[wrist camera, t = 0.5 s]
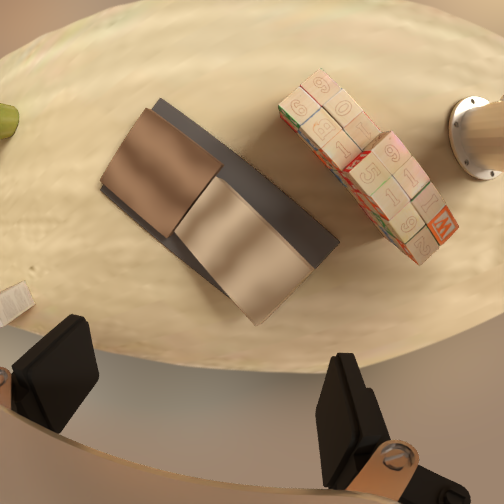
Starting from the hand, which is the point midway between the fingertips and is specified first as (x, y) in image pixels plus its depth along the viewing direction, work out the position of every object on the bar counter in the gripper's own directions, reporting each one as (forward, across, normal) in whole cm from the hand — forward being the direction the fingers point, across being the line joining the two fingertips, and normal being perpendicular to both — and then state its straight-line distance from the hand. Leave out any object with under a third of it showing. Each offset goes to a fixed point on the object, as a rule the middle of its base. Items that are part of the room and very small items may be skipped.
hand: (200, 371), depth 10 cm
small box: (+33, +47, +19) cm, 61 cm away
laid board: (+31, +13, -6) cm, 34 cm away
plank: (+27, +1, +3) cm, 27 cm away
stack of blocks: (+31, -12, -9) cm, 34 cm away
